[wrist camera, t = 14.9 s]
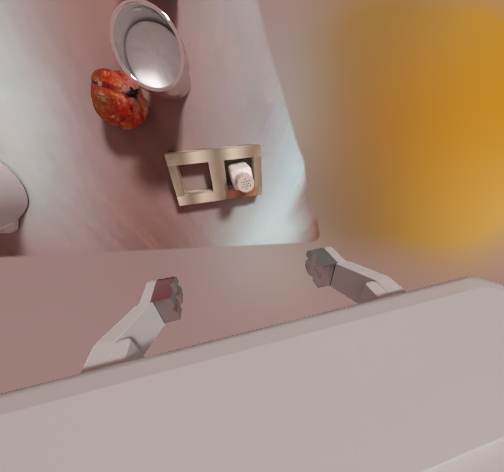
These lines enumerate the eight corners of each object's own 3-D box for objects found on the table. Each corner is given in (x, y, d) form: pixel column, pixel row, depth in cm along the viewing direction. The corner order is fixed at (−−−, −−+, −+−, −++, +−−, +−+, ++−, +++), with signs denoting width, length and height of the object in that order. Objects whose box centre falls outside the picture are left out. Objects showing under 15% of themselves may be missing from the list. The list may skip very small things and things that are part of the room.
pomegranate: (130, 132, 35) (168, 128, 31) (85, 131, 29) (125, 125, 25) (115, 82, 31) (155, 70, 27) (61, 69, 26) (102, 52, 22)
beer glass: (190, 109, 33) (182, 104, 21) (146, 94, 31) (108, 78, 18) (196, 60, 30) (190, 18, 18) (148, 39, 28) (102, -26, 15)
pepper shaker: (226, 164, 39) (232, 175, 31) (244, 159, 40) (254, 170, 32) (231, 182, 41) (237, 197, 34) (248, 178, 42) (258, 191, 34)
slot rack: (181, 200, 41) (179, 206, 38) (167, 152, 36) (163, 155, 33) (258, 190, 44) (262, 194, 41) (256, 143, 38) (261, 145, 36)
